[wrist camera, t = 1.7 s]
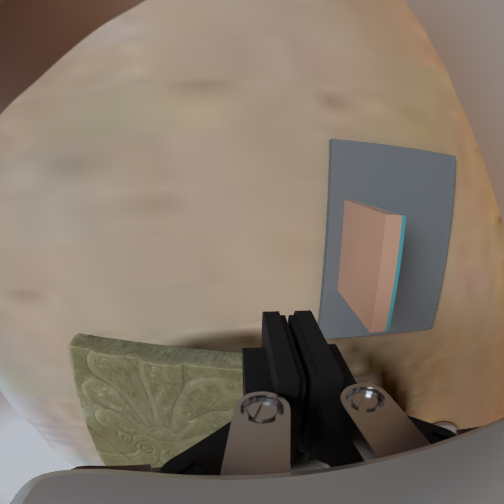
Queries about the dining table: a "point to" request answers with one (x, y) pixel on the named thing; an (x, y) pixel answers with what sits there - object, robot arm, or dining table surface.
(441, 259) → the rubber mat
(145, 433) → the decorative tile
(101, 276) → the dining table surface
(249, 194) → the dining table surface
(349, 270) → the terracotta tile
